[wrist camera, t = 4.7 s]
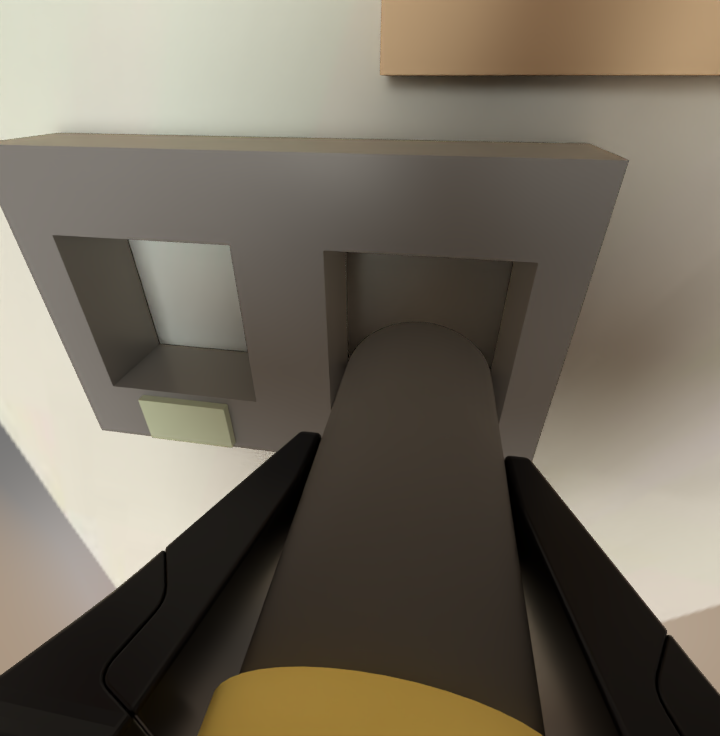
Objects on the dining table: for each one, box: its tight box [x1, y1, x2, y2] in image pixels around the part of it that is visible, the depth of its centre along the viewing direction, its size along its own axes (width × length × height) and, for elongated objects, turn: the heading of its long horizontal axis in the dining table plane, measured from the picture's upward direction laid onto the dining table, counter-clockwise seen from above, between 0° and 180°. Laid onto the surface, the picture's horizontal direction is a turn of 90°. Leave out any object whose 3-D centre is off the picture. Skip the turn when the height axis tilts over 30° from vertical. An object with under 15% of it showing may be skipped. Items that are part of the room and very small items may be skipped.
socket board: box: [0, 133, 629, 461], centre depth 14 cm, size 16×10×3 cm, turn 90°
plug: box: [198, 322, 545, 736], centre depth 7 cm, size 4×4×8 cm
